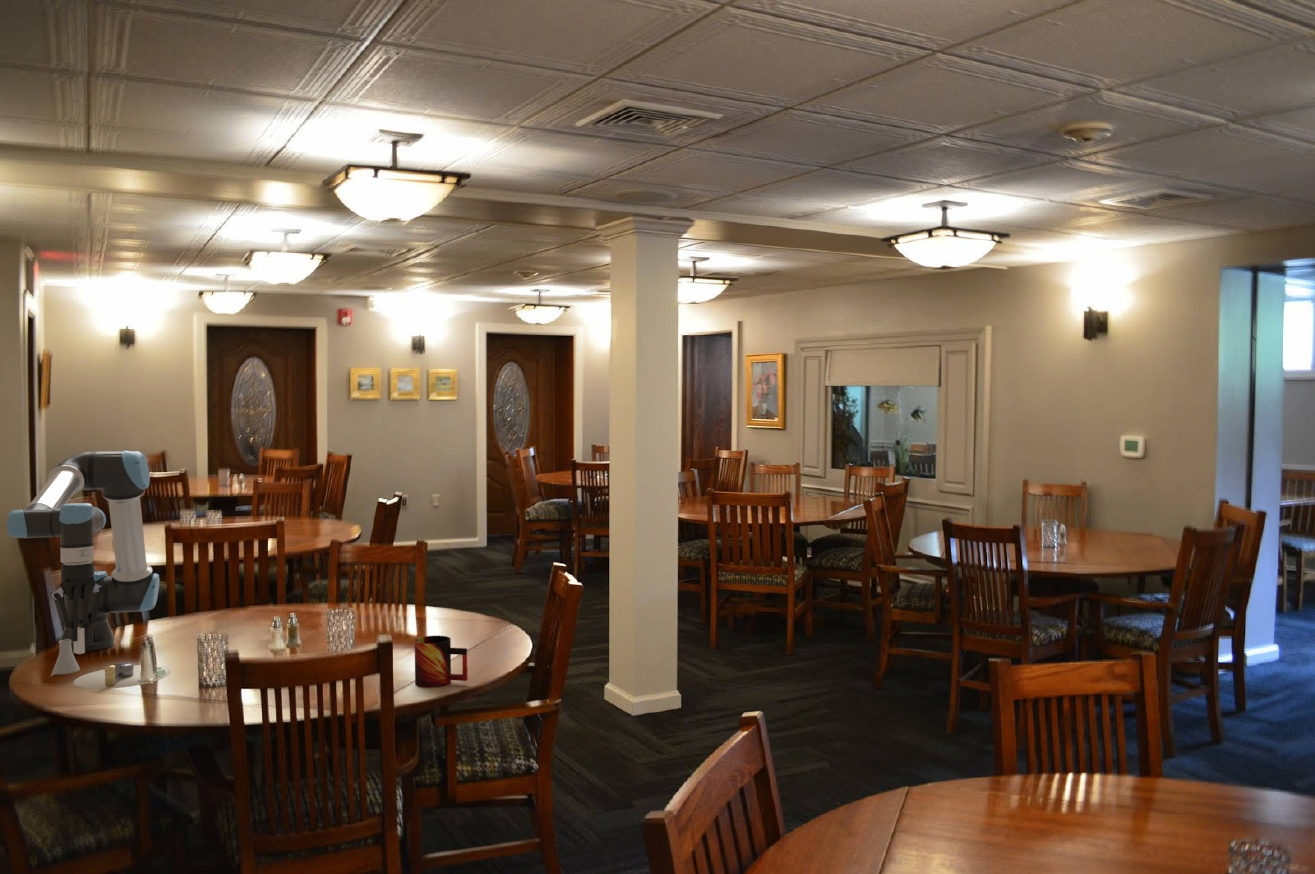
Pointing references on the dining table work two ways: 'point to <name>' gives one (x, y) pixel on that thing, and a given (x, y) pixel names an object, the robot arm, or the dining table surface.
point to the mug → (437, 662)
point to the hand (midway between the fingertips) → (79, 652)
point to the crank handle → (117, 672)
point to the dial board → (98, 680)
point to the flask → (65, 659)
